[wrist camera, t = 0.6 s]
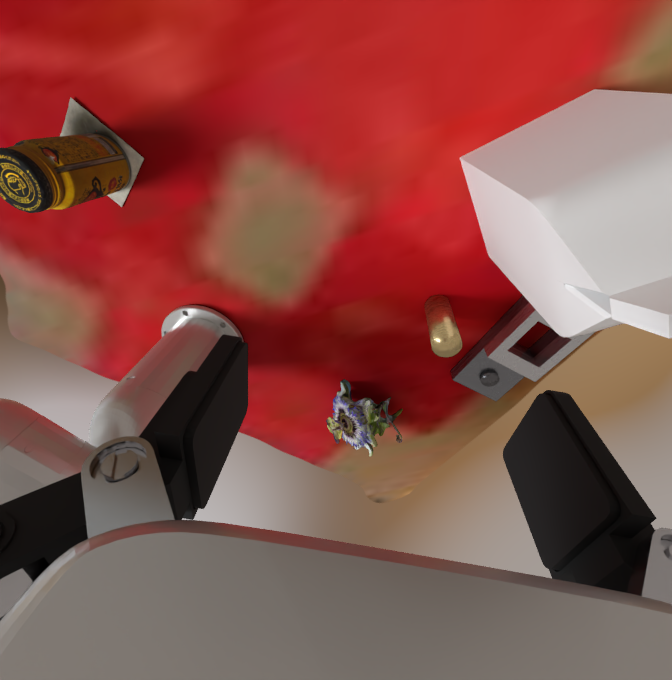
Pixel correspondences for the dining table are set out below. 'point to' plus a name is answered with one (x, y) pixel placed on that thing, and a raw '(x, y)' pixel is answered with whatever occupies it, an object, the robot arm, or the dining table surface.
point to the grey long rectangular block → (512, 353)
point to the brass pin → (442, 326)
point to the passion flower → (359, 419)
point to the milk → (584, 211)
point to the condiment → (68, 166)
